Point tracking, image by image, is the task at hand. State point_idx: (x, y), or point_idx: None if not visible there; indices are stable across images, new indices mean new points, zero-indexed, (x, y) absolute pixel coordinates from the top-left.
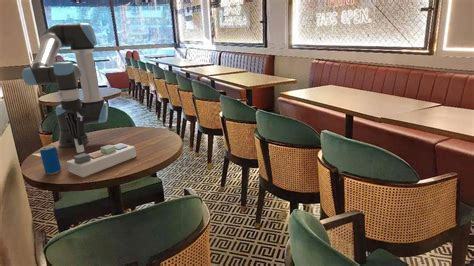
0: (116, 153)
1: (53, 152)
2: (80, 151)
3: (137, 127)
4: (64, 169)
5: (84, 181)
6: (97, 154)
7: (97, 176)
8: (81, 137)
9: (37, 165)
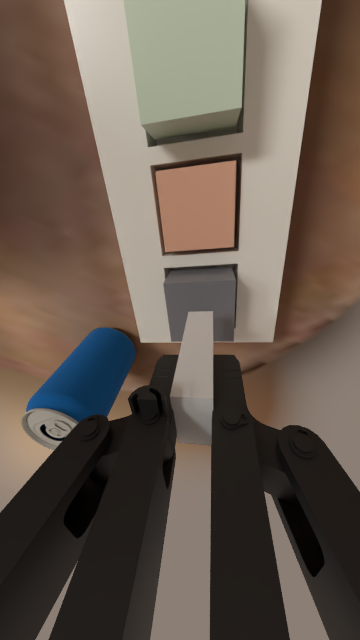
0: (310, 30)
1: (100, 409)
2: (213, 339)
3: None
4: (116, 316)
5: (301, 328)
6: (198, 197)
7: (316, 276)
8: (257, 425)
9: (11, 346)
